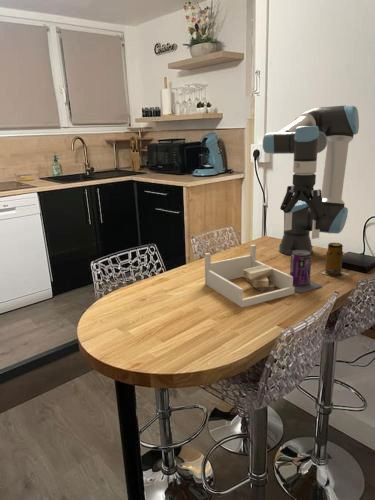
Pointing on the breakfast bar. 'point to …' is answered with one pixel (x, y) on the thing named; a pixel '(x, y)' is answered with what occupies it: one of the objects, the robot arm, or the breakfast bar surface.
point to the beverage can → (300, 267)
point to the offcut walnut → (263, 289)
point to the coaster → (306, 287)
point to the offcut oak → (260, 282)
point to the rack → (234, 267)
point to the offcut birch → (257, 272)
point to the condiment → (334, 261)
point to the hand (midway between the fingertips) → (301, 234)
